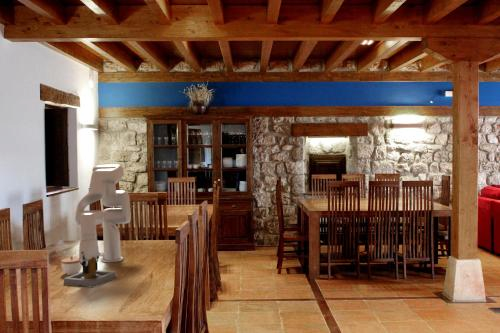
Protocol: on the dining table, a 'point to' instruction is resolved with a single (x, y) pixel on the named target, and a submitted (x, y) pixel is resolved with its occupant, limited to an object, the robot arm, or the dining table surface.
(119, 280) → the dining table surface
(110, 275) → the tray
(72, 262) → the lidded jar
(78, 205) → the robot arm
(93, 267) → the condiment
